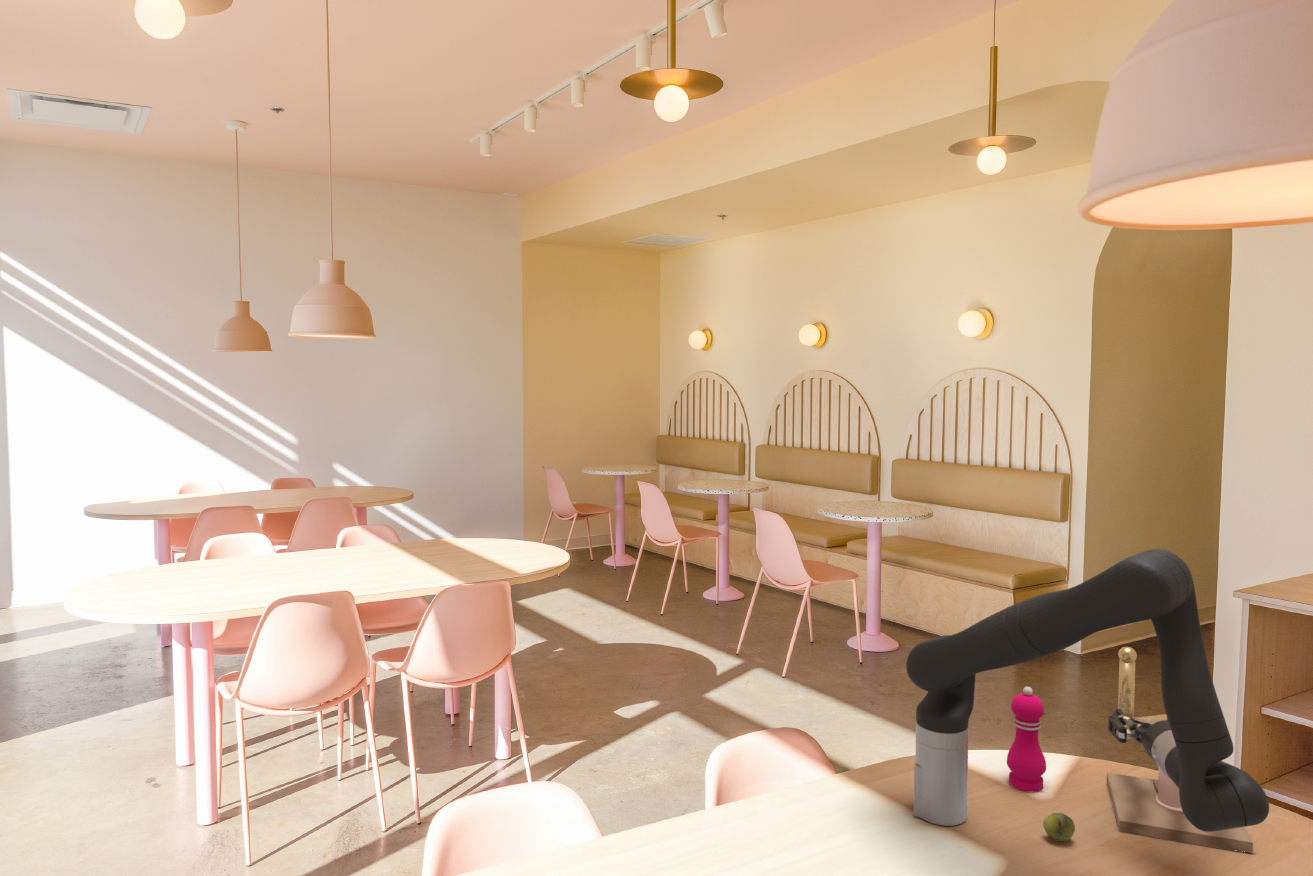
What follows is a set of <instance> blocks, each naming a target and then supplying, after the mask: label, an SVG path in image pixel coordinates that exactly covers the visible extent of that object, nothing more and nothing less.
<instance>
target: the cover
mask: <svg viewBox="0 0 1313 876" xmlns="http://www.w3.org/2000/svg"><path fill="white" fill-rule="evenodd" d="M1157 776H1158V777H1157V778H1158V779H1157V780H1158V795H1157V796H1156V803H1157V804H1158V805H1159V806H1161V807H1162V808H1164V809H1167V810H1170V811H1174V812H1180V813H1183V810H1182V808H1181V804H1180V797H1179V788H1178V787H1177V786H1176V784H1175V783H1174V782H1173V781H1172V780H1171V779H1170V778H1169V777H1168V776H1167V775H1165V774H1164V773H1163V772H1162V770H1161V769H1160V768H1159V767H1158V775H1157Z"/></svg>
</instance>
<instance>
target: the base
mask: <svg viewBox="0 0 1313 876" xmlns="http://www.w3.org/2000/svg"><path fill="white" fill-rule="evenodd" d="M1106 785H1107V789H1108V793H1109V797H1110V800H1111V801H1110V802H1111V804H1112V808H1113V812H1114V813H1113V814H1114V816H1115V819H1116V824H1117V825H1116V826H1117V827H1118V831H1119V832H1120V833H1126V834H1130V835H1131V834H1132V835H1138V836H1144V837H1148V838H1149V837H1151V838H1156V839H1161V840H1166V841H1167V840H1168V841H1173V842H1180V843H1184V844H1185V843H1186V844H1191V845H1198V846H1204V847H1209V848H1216V849H1220V850H1226V851H1232V850H1237V851H1243V852H1244V851H1245V852H1249V853H1253V854H1254V851H1253V850H1254V841H1253V840H1252V838H1251V836H1250V834H1249V833H1248V830H1247V829H1246V827H1239V828H1233V829H1226V830H1219V831H1212V832H1205V831H1201V830H1199V829H1197V828H1196V827H1195V826H1193V825H1192V824H1191V823H1190V822H1189V821H1188V819H1187V818H1186V816H1185V815H1184V813H1180V812H1174V811H1170V810H1167V809H1164V808H1162V807H1161V806H1159V805H1158V804H1157V803H1156V796H1157V795H1158V779H1153V778H1146V777H1141V776H1134V775H1127V774H1119V773H1112V772H1106ZM1221 848H1222V849H1221ZM1227 849H1229V850H1227ZM1237 851H1236V852H1237ZM1243 852H1242V853H1243ZM1249 853H1248V854H1249Z"/></svg>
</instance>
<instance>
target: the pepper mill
mask: <svg viewBox="0 0 1313 876" xmlns="http://www.w3.org/2000/svg"><path fill="white" fill-rule="evenodd" d="M1033 693H1034V692H1033V688H1032V687H1030V686H1025V687H1024V688H1023V690H1022V693H1018V694H1017V695H1015V696H1013V698H1012V700H1011V702H1010V703H1011V704H1010V708H1011V712H1012V713H1013V714H1014V716H1013V721H1012V722H1013V725H1014V726H1015V736H1014V740H1013V742H1012V745H1011V746H1010V749H1009V750H1008V752H1007V756H1006V757H1007V758H1006V765H1007V767H1008V769H1009V774H1008V783H1009V785H1010V786H1011V787H1012V788H1014V789H1016V790H1018V791H1022V792H1026V793H1038V792H1041V791H1042V790H1043V789H1044V777H1043V775H1044V774H1046V773H1045V772H1046V771H1047V761H1046V758H1045V755H1044V752H1043V750H1042V749H1041V746H1040V742H1039V729H1041V728H1042V725H1041V723H1042V720H1041V718H1043V716H1044V714H1045V706H1044V703H1043V701H1042V700H1041V698H1040V697H1039V696H1037V695H1034V694H1033Z"/></svg>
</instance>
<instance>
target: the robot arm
mask: <svg viewBox="0 0 1313 876" xmlns="http://www.w3.org/2000/svg"><path fill="white" fill-rule="evenodd" d="M1198 610H1199V609H1198V603H1197V595H1196V589H1195V584H1194V579H1193V575H1192V572H1191V570H1190V567H1189V566H1188V565H1187V563H1186V562H1185V561H1184V560H1183V559H1182V558H1181V557H1180V556H1178V555H1177V554H1175V552H1172V551H1170V550H1166V549H1161V548H1154V549H1153V548H1152V549H1147V550H1144V551H1141V552H1138V553H1137V554H1134V555H1131V556H1128V557H1126V558H1123V559H1122V560H1119V561H1117V563H1115V564H1114V565H1111V566H1110V567H1109V568H1106V569H1105V570H1102V572H1100V573H1098V574H1097V575H1095V576H1093V577H1090V578H1089V579H1086V580H1085V581H1083V582H1081V583H1079V584H1077V585H1075V586H1072V587H1069V588H1066V589H1062V590H1057V591H1056V590H1055V591H1051V592H1046V593H1042V594H1038V595H1035V596H1032V597H1030V598H1029V597H1028V598H1026V599H1024V600H1021V601H1019V602H1017V603H1015V604H1013V605H1009V606H1007V607H1006V608H1004V609H1001V610H999V611H997V612H995V613H993V614H990V615H988V617H985V618H983V619H981V620H979V621H978V622H976V623H974V624H972V625H971V626H969V627H967V628H965V629H963V630H961V631H959V632H957V633H954V634H947V635H945V634H944V635H941V636H938V637H934V638H931V639H927V640H924V641H923V640H922V641H921V642H919V643H918V644H916V645H915V646H913V647H912V648H911V651H910V652H909V653H908V655H907V658H906V662H905V663H906V673H907V676H908V678H909V680H910V681H911V682H912V683H913V684H914V686H916V687H917V688H920V689H921V690H923V691H925V692H927V693H926V695H925V696H924V698H923V699H922V700H921V701H920V702H919V703H918V704H917V707H916V709H915V759H914V760H915V762H914V766H913V813H912V814H913V816H914V817H915V818H916V817H917V818H920V819H922V820H924V821H926V822H929V823H931V824H934V825H938V826H947V827H948V826H952V827H953V826H959V825H961V824H963V823H965V822H966V820H967V818H968V776H969V775H968V773H969V772H968V769H969V765H968V764H969V762H968V761H969V721H970V718H971V714H972V713H973V710H974V703H975V692H976V691H975V689H976V687H975V686H976V674H980V673H984V672H987V671H993V670H997V669H1003V668H1007V667H1011V666H1015V665H1020V664H1023V663H1028V662H1031V661H1034V660H1038V659H1041V658H1043V657H1046V656H1049V655H1052V654H1054V653H1057V652H1058V653H1059V651H1062V650H1064V649H1067V648H1069V647H1071V646H1073V645H1075V644H1077V643H1079V642H1080V641H1082V640H1084V639H1087V638H1088V637H1089V636H1091V635H1093V634H1095V633H1098V632H1101V631H1105V630H1108V629H1113V628H1117V627H1120V626H1124V625H1130V624H1134V623H1138V622H1139V623H1140V622H1145V621H1151V623H1152V626H1153V628H1154V632H1155V635H1156V638H1157V645H1158V651H1159V658H1160V659H1159V660H1160V684H1161V685H1160V686H1161V696H1162V698H1161V699H1162V704H1163V708H1164V712H1165V714H1166V715H1167V720H1163V721H1159V722H1156V723H1155V722H1152V721H1149V722H1148V721H1145V720H1142V719H1140V718H1137V717H1138V716H1135V717H1134V718H1129V717H1126V715H1125V714H1124V713H1123V712H1122V711H1121V709H1118V708H1115V709H1114V710H1113V711H1112V715H1108V718H1107V719H1108V727H1107V730H1108V732H1109V733H1110V734H1111V735H1112V736H1113V737H1114V738H1115V739H1116V740H1117V741H1118V742H1119V743H1121V744H1126V743H1127V740H1129V739H1131V740H1135V741H1136V742H1138V743H1140V744H1142V746H1143V748H1144V750H1145V753H1146V754H1147V755H1148V757H1150V759H1151V760H1152V761H1153V762H1154V763H1155V765H1156V766H1157V767H1158V769H1159V768H1160V769H1161V770H1162V772H1163V773H1164V774H1165V775H1167V776H1168V777H1169V778H1170V779H1171V780H1172V781H1173V782H1174V783H1175V784H1176V786H1177V787H1178V788H1179V797H1180V804H1181V808H1182V810H1183V813H1184V815H1185V816H1186V818H1187V819H1188V821H1189V822H1190V823H1191V824H1192V825H1193V826H1195V827H1196V828H1197V829H1199V830H1201V831H1205V832H1212V831H1219V830H1226V829H1233V828H1239V827H1245V828H1246V827H1251V826H1257V825H1260V824H1261V823H1263V822H1264V821H1265V820H1266V819H1267V817H1268V816H1269V812H1270V802H1269V800H1268V796H1267V794H1266V792H1265V790H1264V789H1263V788H1262V786H1261V785H1260V784H1259V783H1258V781H1257V780H1256V779H1255V778H1254V777H1252V776H1251V775H1250V774H1249V773H1247V772H1246V771H1245V770H1243V769H1241V768H1239V767H1237V766H1234V765H1232V764H1230V763H1226V762H1225V761H1223V760H1226V759H1228V758H1229V757H1231V756H1232V755H1233V753H1234V743H1233V740H1232V737H1231V734H1230V731H1229V728H1228V725H1227V722H1226V718H1225V716H1224V713H1223V709H1222V707H1221V704H1220V701H1219V698H1218V694H1217V692H1216V689H1215V684H1214V681H1213V678H1212V674H1211V670H1210V666H1209V663H1208V658H1207V653H1206V648H1205V645H1204V638H1203V633H1202V628H1201V624H1200V618H1199V617H1200V615H1199V611H1198ZM1126 722H1128V723H1129V728H1127V726H1126ZM1138 724H1140V726H1139V727H1138Z"/></svg>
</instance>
